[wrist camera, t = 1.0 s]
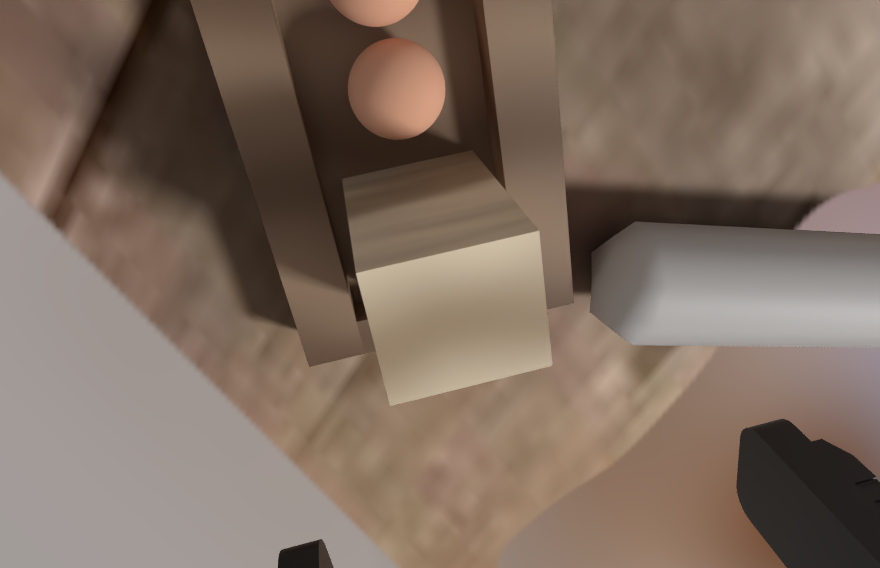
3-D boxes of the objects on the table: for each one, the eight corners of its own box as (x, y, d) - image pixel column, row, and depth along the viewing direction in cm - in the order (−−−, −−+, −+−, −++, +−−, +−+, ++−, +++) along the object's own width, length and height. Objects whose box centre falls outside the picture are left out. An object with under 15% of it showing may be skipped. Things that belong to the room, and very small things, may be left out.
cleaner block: (341, 178, 24) (355, 273, 17) (472, 150, 24) (539, 230, 17) (368, 283, 26) (390, 406, 19) (487, 255, 26) (552, 365, 19)
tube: (591, 373, 26) (1065, 373, 31) (641, 282, 23) (1169, 299, 28) (558, 281, 30) (987, 294, 35) (597, 189, 26) (1070, 219, 31)
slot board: (175, -91, 20) (158, -96, 18) (515, -152, 21) (539, -165, 19) (309, 334, 28) (309, 366, 25) (553, 275, 28) (574, 302, 26)
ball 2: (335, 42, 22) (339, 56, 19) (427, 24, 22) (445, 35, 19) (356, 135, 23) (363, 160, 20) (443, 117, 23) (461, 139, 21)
